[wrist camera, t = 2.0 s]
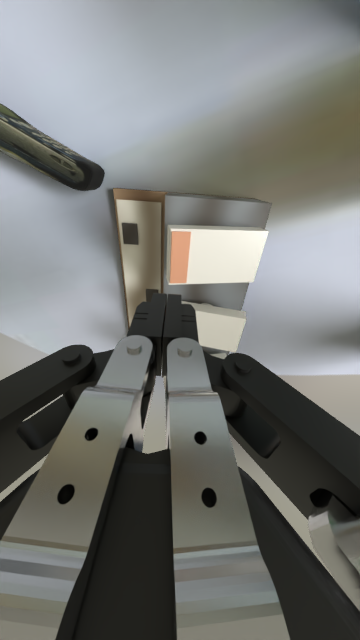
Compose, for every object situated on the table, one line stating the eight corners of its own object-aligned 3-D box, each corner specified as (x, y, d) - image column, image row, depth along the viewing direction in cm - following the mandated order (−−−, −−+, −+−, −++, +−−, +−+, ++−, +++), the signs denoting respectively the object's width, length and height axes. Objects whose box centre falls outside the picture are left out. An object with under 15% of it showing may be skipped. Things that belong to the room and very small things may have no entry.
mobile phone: (93, 163, 18) (-132, 33, 13) (86, 198, 19) (-118, 92, 15) (108, 165, 22) (-61, 66, 17) (101, 194, 23) (-56, 110, 19)
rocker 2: (245, 307, 23) (246, 320, 21) (235, 339, 26) (235, 353, 24) (171, 295, 24) (165, 306, 22) (169, 327, 27) (164, 339, 25)
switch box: (254, 198, 23) (272, 203, 19) (216, 356, 38) (220, 380, 34) (115, 188, 22) (99, 190, 18) (132, 352, 38) (126, 375, 33)
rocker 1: (255, 225, 20) (269, 231, 18) (243, 273, 23) (254, 282, 21) (166, 222, 18) (170, 229, 16) (165, 274, 21) (169, 285, 19)
